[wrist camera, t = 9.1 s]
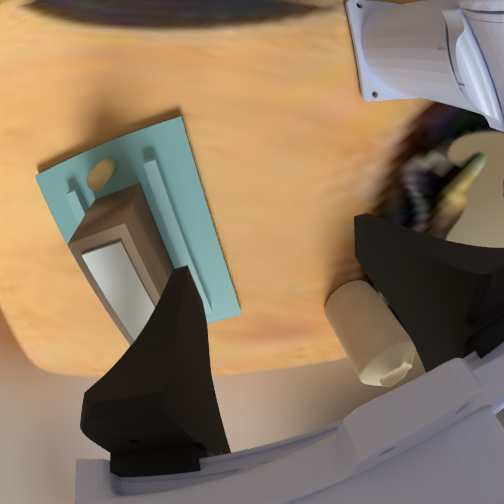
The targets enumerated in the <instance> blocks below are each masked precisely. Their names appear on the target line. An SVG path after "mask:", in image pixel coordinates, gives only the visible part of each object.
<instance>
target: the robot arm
mask: <svg viewBox="0 0 504 504" xmlns="http://www.w3.org/2000/svg"><path fill="white" fill-rule="evenodd" d="M357 3H358V4H359V5H360V8H358V7H357ZM345 6H346V11H347V15H348V19H349V24H350V29H351V34H352V39H353V44H354V50H355V56H356V62H357V68H358V74H359V81H360V89H361V96H362V98H363V100H365V101H369V102H371V101H381V100H394V99H409V98H424V99H429V100H433V101H437V102H441V103H445V104H449V105H452V106H456V107H460V108H463V109H466V110H470V111H473V112H476V113H479V114H482V115H484V116H485V117H486V119H487V120H488V123H489V125H490V127H492V128H495V129H497V130H500V131H502V132H504V0H424V1H417V2H411V3H405V4H396V3H389V2H381V1H371V0H347V1H346V3H345ZM373 92H375V96H374V97H373V96H372V93H373ZM354 226H355V256H356V258H357V260H358V261H359V263H360V265H361V267H362V268H363V270H364V271H365V273H366V274H367V276H368V277H369V278H370V279H371V281H372V282H373V283H374V284H375V286H376V287H377V288H378V289H379V291H380V292H381V293H382V294H383V296H384V297H385V298H386V300H387V301H388V302H389V303H390V305H391V306H392V307H393V309H394V310H395V312H396V313H397V315H398V316H399V318H400V320H401V321H402V323H403V325H404V327H405V328H406V330H407V332H408V334H409V336H410V338H411V340H412V342H413V344H414V346H415V348H416V350H417V352H418V354H419V356H420V359H421V361H422V363H423V366H424V368H425V371H426V374H424V375H422V376H420V377H418V378H416V379H414V380H413V381H411V382H409V383H407V384H405V385H403V386H401V387H399V388H397V389H394V390H392V391H390V392H388V393H386V394H384V395H382V396H380V397H377V398H375V399H373V400H371V401H370V402H368V403H366V404H364V405H362V406H361V407H358V408H357V409H356V410H355V411H353V412H352V413H351V414H349V415H348V416H346V417H345V418H344V419H343V420H341V421H338V422H336V423H333V424H331V425H328V426H325V427H322V428H319V429H316V430H313V431H310V432H307V433H304V434H301V435H298V436H295V437H292V438H288V439H285V440H281V441H278V442H274V443H271V444H267V445H263V446H259V447H255V448H251V449H247V450H243V451H238V452H233V453H231V451H230V448H229V445H228V442H227V438H226V435H225V431H224V427H223V423H222V419H221V416H220V412H219V407H218V403H217V399H216V394H215V390H214V386H213V380H212V375H211V368H210V356H209V343H208V329H207V320H206V315H205V310H204V305H203V301H202V298H201V296H200V294H199V291H198V289H197V287H196V284H195V282H194V279H193V277H192V275H191V272H190V270H189V267H188V265H186V266H183V267H179V268H176V269H173V271H172V273H171V275H170V277H169V280H168V282H167V284H166V286H165V288H164V291H163V293H162V295H161V297H160V299H159V301H158V303H157V305H156V307H155V309H154V311H153V313H152V314H151V316H150V318H149V320H148V322H147V323H146V325H145V326H144V328H143V330H142V331H141V332H140V334H139V335H138V337H137V338H136V340H135V341H134V342H133V344H132V345H131V346H130V347H129V349H128V350H127V351H126V352H125V354H124V355H123V356H122V357H121V358H120V360H119V361H118V362H117V363H116V364H115V365H114V366H113V367H112V368H111V369H110V370H109V371H108V372H107V373H106V374H105V375H104V376H103V377H102V378H101V379H100V380H99V381H97V382H96V383H95V384H94V385H93V386H92V387H91V388H89V389H88V390H87V391H86V392H85V393H84V399H83V405H82V413H81V423H80V428H81V430H82V432H83V433H84V434H85V435H86V436H87V437H88V438H89V439H90V440H92V441H93V442H95V443H96V444H98V445H99V446H101V447H102V448H104V449H106V450H107V451H108V452H110V453H111V454H110V461H109V460H105V459H77V460H76V476H75V504H504V429H503V428H502V426H501V424H500V423H499V421H498V420H497V418H496V416H495V415H496V414H497V413H498V412H499V411H500V410H501V409H503V408H504V248H488V247H479V246H471V245H465V244H460V243H455V242H451V241H447V240H443V239H439V238H435V237H432V236H429V235H426V234H423V233H420V232H417V231H414V230H411V229H409V228H406V227H403V226H401V225H398V224H396V223H393V222H390V221H388V220H385V219H383V218H380V217H377V216H374V215H371V214H368V213H365V214H362V215H358V216H355V217H354Z"/></svg>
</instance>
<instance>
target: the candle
mask: <svg viewBox="0 0 504 504" xmlns="http://www.w3.org/2000/svg"><path fill="white" fill-rule="evenodd" d="M325 314H326V317H327V319H328V321H329V323H330V324H331V326H332V328H333V330H334V332H335V333H336V335H337V337H338V339H339V341H340V343H341V345H342V346H343V348H344V350H345V352H346V354H347V356H348V358H349V359H350V361H351V363H352V365H353V367H354V368H355V371H356V372H357V374H358V376H359V378H360V380H361V382H363V383H365V384H369V385H378V386H393V385H394V384H396V383H397V382H398V381H400V380H401V379H402V378H403V377H405V376H406V373H407V371H408V369H410V368H411V367H412V363H413V358H414V353H415V346H414V344H413V342H412V340H411V338H410V337H409V336H408V334H407V333H406V332H405V330H404V329H403V327H402V326H401V325H400V323H399V322H398V321H397V319H396V318H395V317H394V315H393V314H392V313H391V311H390V310H389V309H388V307H387V306H386V305H385V303H384V302H383V301H382V299H381V298H380V297H379V295H378V294H377V293H376V292H375V290H374V289H373V288H372V287H371V286H370V285H369V284H368V283H367V282H365V281H362V280H355V281H350V282H348V283H345V284H343V285H342V286H340V287H339V288H337V289H336V290H335V291H334V292H333V293H332V294H331V295H330V297H329V298H328V300H327V302H326V305H325Z"/></svg>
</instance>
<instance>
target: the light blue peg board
mask: <svg viewBox="0 0 504 504" xmlns="http://www.w3.org/2000/svg"><path fill="white" fill-rule="evenodd" d="M35 177H36V180H37V182H38V185H39V187H40V189H41V192H42V194H43V196H44V198H45V201H46V203H47V205H48V207H49V209H50V211H51V213H52V216H53V218H54V220H55V222H56V224H57V226H58V228H59V230H60V232H61V234H62V236H63V238H64V239H65V241H66V243H67V244H68V242H69V241H70V239H71V237H72V236H73V234H74V232H75V230H76V229H77V227H78V226H79V224H80V222H81V221H82V219H83V217H84V216H85V214H86V213H87V211H88V210H89V208H90V206H91V205H92V203H93V202H94V200H96V199H98V198H101V197H104V196H106V195H109V194H111V193H114V192H117V191H119V190H122V189H125V188H128V187H130V186H133V185H136V184H139V183H141V186H142V188H143V191H144V194H145V196H146V199H147V202H148V204H149V207H150V210H151V212H152V215H153V217H154V220H155V222H156V225H157V227H158V230H159V232H160V235H161V237H162V239H163V242H164V244H165V247H166V249H167V251H168V254H169V256H170V259H171V261H172V263H173V265H174V268H175V269H176V268H179V267H183V266H186V265H188V267H189V270H190V272H191V275H192V277H193V279H194V282H195V284H196V287H197V289H198V291H199V294H200V296H201V298H202V301H203V305H204V310H205V315H206V320H207V324H208V323H212V322H215V321H219V320H223V319H226V318H230V317H233V316H237V315H240V314H242V312H241V309H240V306H239V303H238V300H237V297H236V294H235V291H234V288H233V285H232V281H231V278H230V275H229V272H228V269H227V266H226V263H225V260H224V257H223V253H222V250H221V247H220V244H219V241H218V238H217V234H216V231H215V228H214V225H213V222H212V218H211V215H210V212H209V208H208V205H207V202H206V199H205V195H204V192H203V189H202V185H201V182H200V179H199V175H198V172H197V169H196V165H195V162H194V158H193V155H192V151H191V148H190V145H189V141H188V138H187V134H186V131H185V127H184V123H183V120H182V116H178V117H175V118H172V119H169V120H166V121H163V122H160V123H157V124H154V125H151V126H148V127H145V128H142V129H139V130H137V131H134V132H131V133H128V134H126V135H123V136H121V137H118V138H115V139H113V140H110V141H108V142H105V143H103V144H101V145H98V146H96V147H94V148H91V149H89V150H87V151H84V152H82V153H80V154H78V155H76V156H73V157H71V158H69V159H67V160H65V161H63V162H61V163H59V164H57V165H55V166H53V167H51V168H49V169H47V170H45V171H43V172H41V173H39V174H37V175H36V176H35ZM69 249H70V248H69ZM70 251H71V250H70ZM71 253H72V252H71ZM75 260H76V259H75ZM76 262H77V261H76ZM79 267H80V266H79ZM80 269H81V268H80ZM83 274H84V273H83ZM86 279H87V278H86ZM87 281H88V280H87ZM89 284H90V283H89ZM92 289H93V288H92ZM95 294H96V293H95ZM97 297H98V296H97ZM100 302H101V301H100ZM102 305H103V304H102ZM104 308H105V307H104ZM106 311H107V310H106ZM108 314H109V313H108ZM110 317H111V316H110ZM112 320H113V319H112ZM114 323H115V322H114ZM116 326H117V325H116ZM121 333H122V332H121ZM123 336H124V335H123ZM126 340H127V339H126ZM128 343H129V342H128Z"/></svg>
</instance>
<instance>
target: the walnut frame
mask: <svg viewBox="0 0 504 504" xmlns="http://www.w3.org/2000/svg"><path fill="white" fill-rule="evenodd" d="M67 245H68V247H69V248H70V250H71V252H72V254H73V256H74V258H75V259H76V261H77V263H78V265H79V266H80V268H81V270H82V272H83V273H84V275H85V277H86V278H87V280H88V282H89V283H90V285H91V287H92V288H93V290H94V292H95V293H96V295H97V296H98V298H99V300H100V301H101V303H102V304H103V306H104V307H105V309H106V310H107V312H108V313H109V315H110V316H111V318H112V319H113V321H114V322H115V324H116V325H117V327H118V328H119V330H120V331H121V332H122V334H123V335H124V337H125V338H126V339H127V341H128V342H129V344H130V345H132V344H133V342H134V341H135V340H136V338H137V337H138V335H139V334H140V332H141V331H142V330H143V328H144V326H145V325H146V323H147V322H148V320H149V318H150V316H151V314H152V313H153V311H154V309H155V307H156V305H157V303H158V301H159V299H160V297H161V295H162V293H163V291H164V288H165V286H166V284H167V282H168V280H169V277H170V275H171V273H172V271H173V269H175V268H174V265H173V263H172V261H171V259H170V256H169V254H168V251H167V249H166V247H165V244H164V242H163V239H162V237H161V235H160V232H159V230H158V227H157V225H156V222H155V220H154V217H153V215H152V212H151V210H150V207H149V204H148V202H147V199H146V196H145V194H144V191H143V188H142V186H141V183H139V184H136V185H133V186H130V187H128V188H125V189H122V190H119V191H117V192H114V193H111V194H109V195H106V196H104V197H101V198H98V199H96V200H94V202H93V203H92V205H91V206H90V208H89V210H88V211H87V213H86V214H85V216H84V217H83V219H82V221H81V222H80V224H79V226H78V227H77V229H76V230H75V232H74V234H73V236H72V237H71V239H70V241H69V242H68V244H67Z"/></svg>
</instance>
